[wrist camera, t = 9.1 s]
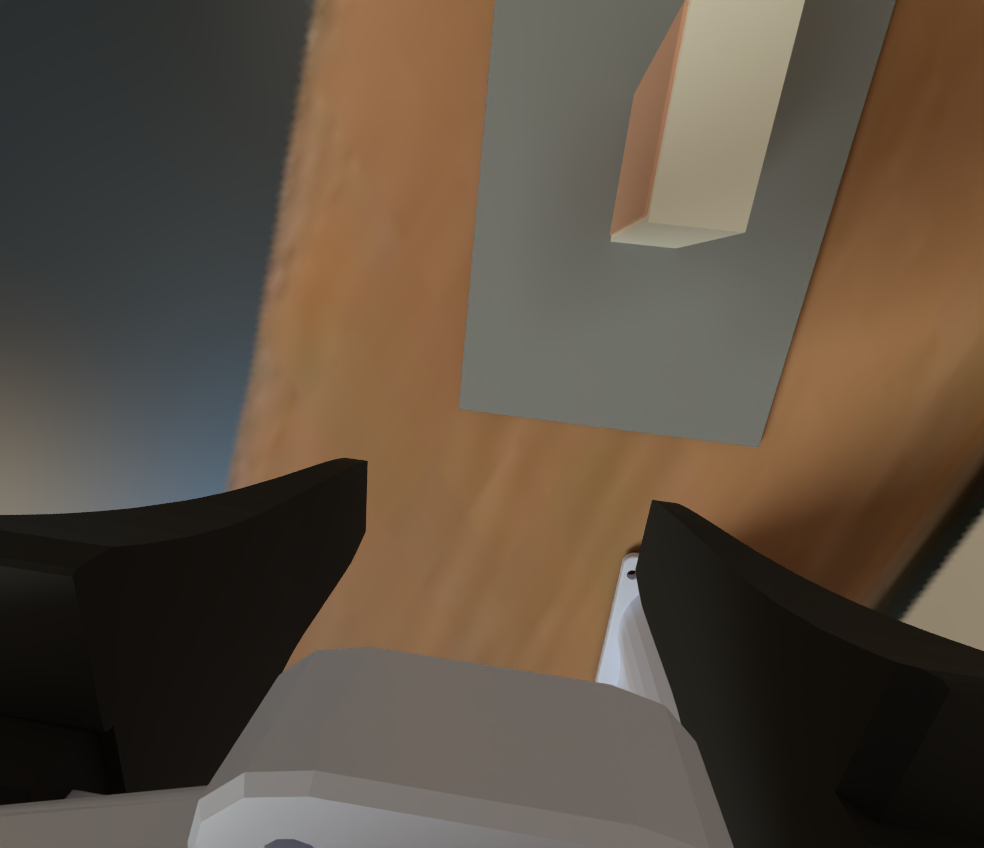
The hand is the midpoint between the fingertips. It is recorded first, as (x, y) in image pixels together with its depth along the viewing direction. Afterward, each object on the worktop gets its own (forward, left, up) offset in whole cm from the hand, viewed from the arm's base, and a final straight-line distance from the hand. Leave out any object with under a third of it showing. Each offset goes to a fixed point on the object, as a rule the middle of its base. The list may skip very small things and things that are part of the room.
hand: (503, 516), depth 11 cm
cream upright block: (+10, -4, -9) cm, 14 cm away
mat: (+9, -4, -9) cm, 14 cm away
